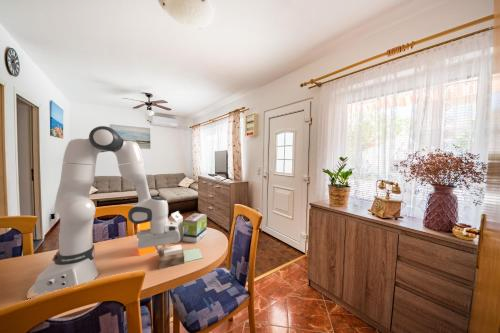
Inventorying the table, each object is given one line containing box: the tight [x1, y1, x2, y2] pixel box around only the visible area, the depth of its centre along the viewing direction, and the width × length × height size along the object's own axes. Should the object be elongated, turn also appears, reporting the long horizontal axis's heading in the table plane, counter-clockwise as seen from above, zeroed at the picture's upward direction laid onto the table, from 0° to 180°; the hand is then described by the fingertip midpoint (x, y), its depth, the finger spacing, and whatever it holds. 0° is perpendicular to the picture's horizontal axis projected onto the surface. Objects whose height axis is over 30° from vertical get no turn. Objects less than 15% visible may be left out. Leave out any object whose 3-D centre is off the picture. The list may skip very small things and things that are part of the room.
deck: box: [158, 249, 185, 270], centre depth 103 cm, size 12×14×4 cm
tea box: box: [182, 212, 208, 244], centre depth 130 cm, size 15×10×15 cm, turn 168°
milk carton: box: [168, 210, 184, 244], centre depth 125 cm, size 7×7×19 cm
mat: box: [183, 247, 204, 263], centre depth 108 cm, size 10×12×1 cm
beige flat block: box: [164, 243, 183, 256], centre depth 103 cm, size 9×6×2 cm, turn 116°
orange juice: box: [136, 222, 157, 256], centre depth 112 cm, size 8×9×20 cm
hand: (160, 252), depth 101 cm, fingers closed
